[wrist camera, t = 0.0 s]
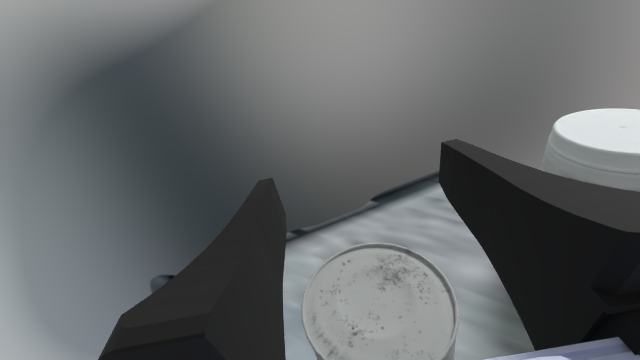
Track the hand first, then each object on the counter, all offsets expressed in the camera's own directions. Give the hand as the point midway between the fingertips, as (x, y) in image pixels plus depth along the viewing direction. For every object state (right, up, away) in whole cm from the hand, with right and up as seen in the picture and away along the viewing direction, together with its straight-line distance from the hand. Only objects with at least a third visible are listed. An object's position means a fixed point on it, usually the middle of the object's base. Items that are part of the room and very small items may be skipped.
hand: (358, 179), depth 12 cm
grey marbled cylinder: (+4, -18, +12) cm, 22 cm away
